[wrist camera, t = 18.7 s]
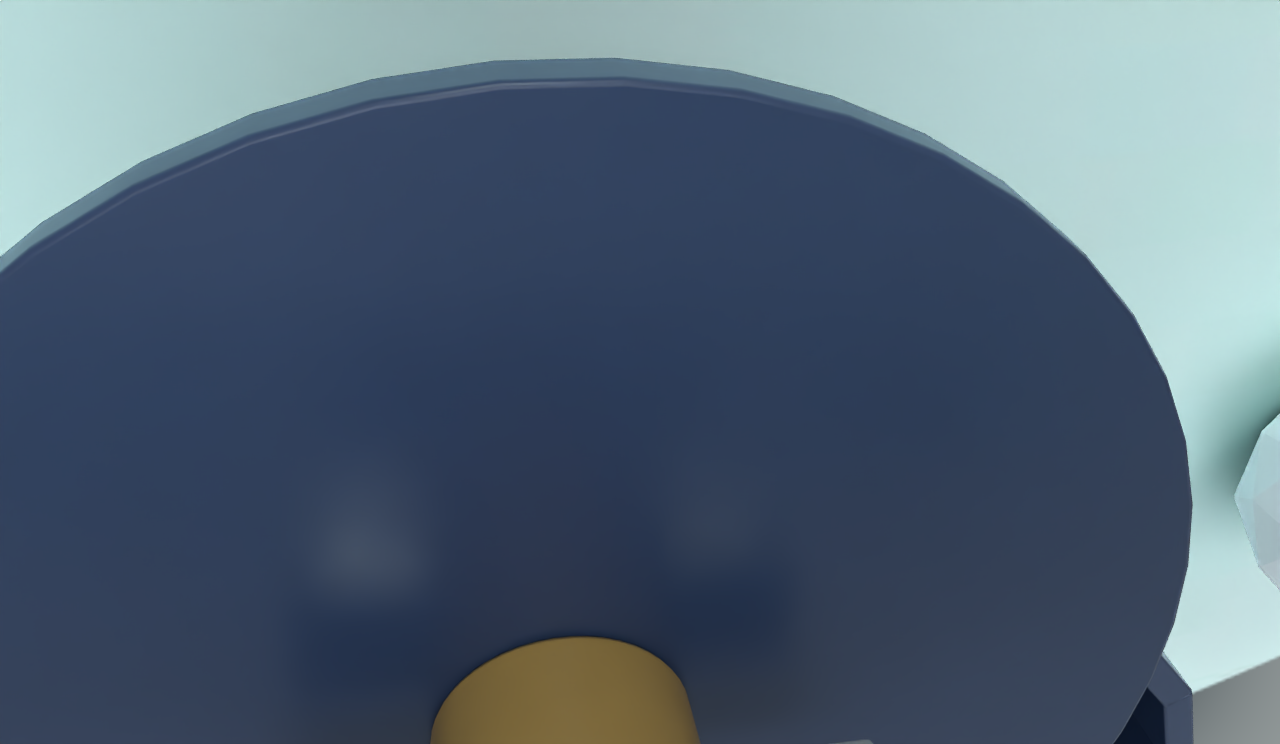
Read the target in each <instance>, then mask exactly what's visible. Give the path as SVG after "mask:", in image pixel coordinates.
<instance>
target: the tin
mask: <svg viewBox="0 0 1280 744" xmlns="http://www.w3.org/2000/svg"><path fill="white" fill-rule="evenodd" d="M1113 744H1193V701H1192V691H1191V688H1190V687H1189V686H1188V684H1187V683H1186V682H1185V680H1184V679H1183V678H1182V676H1181V675H1180V674H1179V672H1178V671H1177V669H1176V668H1175V667H1174V665H1173V664H1172V663H1171V661H1170V660H1169V659H1168V657H1167V656H1166V655H1165V653H1164V652H1162V655H1161V657H1160V660H1159V662H1158V665H1157V667H1156V670H1155V672H1154V675H1153V677H1152V679H1151V681H1150V683H1149V685H1148V687H1147V688H1146V690H1145V692H1144V694H1143V695H1142V697H1141V699H1140V701H1139V703H1138V704H1137V706H1136V708H1135V710H1134V711H1133V713H1132V715H1131V717H1130V718H1129V720H1128V722H1127V724H1126V726H1125V727H1124V729H1123V731H1122V732H1121V734H1120V735H1119V737H1118V738H1117V739H1116V741H1115V742H1114V743H1113Z"/></svg>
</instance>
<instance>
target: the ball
mask: <svg viewBox="0 0 1280 744" xmlns="http://www.w3.org/2000/svg"><path fill="white" fill-rule="evenodd" d="M1234 499H1235V501H1236V504H1237V507H1238V510H1239V513H1240V516H1241V518H1242V521H1243V524H1244V527H1245V530H1246V533H1247V535H1248V538H1249V541H1250V544H1251V547H1252V550H1253V552H1254V555H1255V558H1256V561H1257V564H1258V567H1259V568H1260V569H1261V570H1262V571H1263V572H1264V573H1265V575H1266V576H1267V577H1268V578H1269V579H1270V580H1271V581H1272V582H1273V583H1274V584H1275V586H1276V587H1277V588H1278V589H1279V590H1280V414H1279V415H1278V416H1277V417H1276V418H1275V419H1274V420H1273V421H1272V422H1271V423H1270V424H1269V425H1268V426H1267V427H1266V428H1264V429H1263V430H1262V431H1261V434H1260V436H1259V438H1258V441H1257V443H1256V445H1255V448H1254V450H1253V452H1252V455H1251V457H1250V459H1249V462H1248V464H1247V466H1246V469H1245V471H1244V473H1243V476H1242V478H1241V480H1240V483H1239V485H1238V487H1237V490H1236V492H1235V494H1234Z"/></svg>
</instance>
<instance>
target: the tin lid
mask: <svg viewBox="0 0 1280 744" xmlns="http://www.w3.org/2000/svg"><path fill="white" fill-rule="evenodd" d="M1191 518H1192V495H1191V485H1190V476H1189V466H1188V457H1187V448H1186V440H1185V436H1184V433H1183V430H1182V426H1181V423H1180V420H1179V417H1178V413H1177V410H1176V407H1175V403H1174V400H1173V397H1172V393H1171V390H1170V387H1169V384H1168V380H1167V377H1166V375H1165V373H1164V371H1163V369H1162V367H1161V365H1160V363H1159V361H1158V359H1157V358H1156V356H1155V354H1154V352H1153V350H1152V348H1151V346H1150V344H1149V342H1148V341H1147V339H1146V337H1145V335H1144V333H1143V331H1142V329H1141V327H1140V326H1139V324H1138V322H1137V320H1136V318H1135V316H1134V314H1133V313H1132V312H1131V310H1130V309H1129V308H1128V307H1127V305H1126V304H1125V303H1124V302H1123V300H1122V299H1121V298H1120V297H1119V295H1118V294H1117V293H1116V292H1115V290H1114V289H1113V288H1112V287H1111V285H1110V284H1109V283H1108V282H1107V281H1106V279H1105V278H1104V277H1103V276H1102V274H1101V273H1100V272H1099V271H1098V269H1097V268H1096V267H1095V266H1094V264H1093V263H1092V262H1091V261H1090V259H1089V258H1088V257H1087V256H1086V254H1084V253H1083V252H1082V251H1081V250H1080V249H1079V248H1078V247H1077V246H1076V245H1075V244H1074V243H1073V242H1072V241H1071V240H1070V239H1069V238H1068V237H1067V236H1066V235H1065V234H1064V233H1062V232H1061V231H1060V230H1059V229H1058V228H1057V227H1056V226H1054V225H1053V224H1052V223H1051V222H1050V221H1049V220H1047V219H1046V218H1045V217H1044V216H1043V215H1042V214H1040V213H1039V212H1038V211H1037V210H1036V209H1035V208H1034V207H1032V206H1031V205H1030V204H1029V203H1028V202H1027V201H1025V200H1024V199H1023V198H1022V197H1021V196H1020V195H1019V194H1017V193H1016V192H1015V191H1014V190H1013V189H1012V188H1010V187H1009V186H1008V185H1007V184H1006V183H1005V182H1003V181H1002V180H1001V179H999V178H997V177H996V176H994V175H992V174H991V173H989V172H987V171H986V170H984V169H982V168H981V167H979V166H978V165H976V164H974V163H973V162H971V161H969V160H968V159H966V158H964V157H963V156H961V155H959V154H958V153H956V152H954V151H953V150H951V149H949V148H948V147H946V146H945V145H943V144H941V143H940V142H938V141H936V140H935V139H933V138H931V137H930V136H928V135H926V134H925V133H922V132H920V131H917V130H915V129H912V128H910V127H907V126H905V125H903V124H900V123H898V122H895V121H893V120H890V119H888V118H885V117H883V116H881V115H878V114H876V113H873V112H871V111H868V110H866V109H864V108H861V107H859V106H856V105H854V104H851V103H849V102H846V101H844V100H842V99H839V98H837V97H834V96H831V95H827V94H823V93H819V92H815V91H811V90H807V89H803V88H799V87H795V86H791V85H787V84H782V83H778V82H774V81H770V80H766V79H762V78H758V77H754V76H750V75H746V74H742V73H738V72H734V71H730V70H722V69H713V68H704V67H695V66H685V65H676V64H667V63H657V62H648V61H639V60H630V59H620V58H589V59H546V60H503V61H489V62H482V63H476V64H469V65H463V66H456V67H449V68H443V69H436V70H430V71H423V72H417V73H410V74H403V75H397V76H390V77H384V78H377V79H371V80H368V81H364V82H361V83H357V84H354V85H350V86H347V87H343V88H340V89H336V90H333V91H329V92H326V93H322V94H319V95H315V96H312V97H308V98H305V99H301V100H298V101H294V102H291V103H287V104H284V105H280V106H277V107H273V108H270V109H266V110H263V111H259V112H256V113H252V114H250V115H248V116H245V117H243V118H241V119H239V120H236V121H234V122H232V123H229V124H227V125H225V126H222V127H220V128H218V129H215V130H213V131H211V132H209V133H206V134H204V135H202V136H199V137H197V138H195V139H192V140H190V141H188V142H186V143H183V144H181V145H179V146H176V147H174V148H172V149H169V150H167V151H165V152H163V153H160V154H158V155H156V156H153V157H151V158H149V159H146V160H144V161H142V162H140V163H138V164H137V165H135V166H133V167H132V168H130V169H128V170H127V171H125V172H124V173H122V174H120V175H119V176H117V177H115V178H114V179H112V180H110V181H109V182H107V183H106V184H104V185H102V186H101V187H99V188H97V189H96V190H94V191H92V192H91V193H89V194H88V195H86V196H84V197H83V198H81V199H79V200H78V201H76V202H74V203H73V204H71V205H70V206H68V207H66V208H65V209H63V210H61V211H60V212H58V213H56V214H55V215H53V216H52V217H50V218H48V219H47V220H45V221H43V222H42V223H41V224H39V225H38V226H37V227H36V228H35V229H33V230H32V231H31V232H30V233H29V234H27V235H26V236H25V237H24V238H23V239H21V240H20V241H19V242H18V243H17V244H15V245H14V246H13V247H12V248H11V249H9V250H8V251H7V252H6V253H5V254H3V255H2V256H1V257H0V744H833V743H840V742H848V741H856V740H863V739H864V740H870V741H871V742H872V743H873V744H1113V743H1114V742H1115V741H1116V739H1117V738H1118V737H1119V735H1120V734H1121V732H1122V731H1123V729H1124V727H1125V726H1126V724H1127V722H1128V720H1129V718H1130V717H1131V715H1132V713H1133V711H1134V710H1135V708H1136V706H1137V704H1138V703H1139V701H1140V699H1141V697H1142V695H1143V694H1144V692H1145V690H1146V688H1147V687H1148V685H1149V683H1150V681H1151V679H1152V677H1153V675H1154V672H1155V670H1156V667H1157V665H1158V662H1159V660H1160V657H1161V655H1162V652H1163V650H1164V647H1165V645H1166V642H1167V640H1168V637H1169V635H1170V632H1171V630H1172V627H1173V625H1174V622H1175V618H1176V613H1177V609H1178V605H1179V601H1180V597H1181V593H1182V588H1183V584H1184V580H1185V576H1186V572H1187V568H1188V560H1189V546H1190V532H1191Z"/></svg>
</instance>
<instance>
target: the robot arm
mask: <svg viewBox="0 0 1280 744" xmlns="http://www.w3.org/2000/svg"><path fill="white" fill-rule="evenodd" d="M833 744H873V743H872V742H871V741H870V740H864V739H863V740H856V741H848V742H840V743H833Z"/></svg>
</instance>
